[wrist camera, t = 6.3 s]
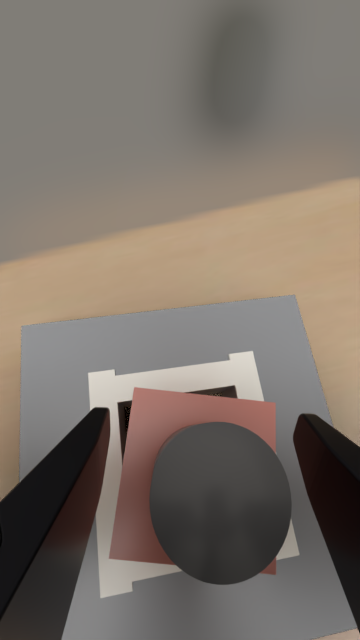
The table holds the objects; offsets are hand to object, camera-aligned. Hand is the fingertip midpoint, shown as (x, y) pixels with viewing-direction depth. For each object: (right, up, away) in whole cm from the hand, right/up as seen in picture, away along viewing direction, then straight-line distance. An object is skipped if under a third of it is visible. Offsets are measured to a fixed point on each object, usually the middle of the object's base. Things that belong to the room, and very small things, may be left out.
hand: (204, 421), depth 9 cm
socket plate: (-1, -4, +8) cm, 9 cm away
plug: (-1, -4, +8) cm, 9 cm away
